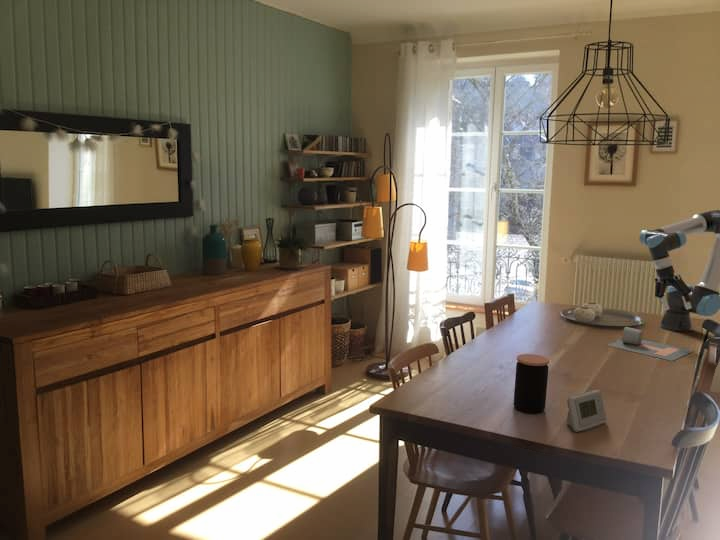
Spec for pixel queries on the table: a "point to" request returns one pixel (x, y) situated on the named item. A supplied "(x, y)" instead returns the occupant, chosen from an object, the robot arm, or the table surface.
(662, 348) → the t mat
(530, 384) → the coffee jar
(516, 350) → the table surface
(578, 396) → the digital clock
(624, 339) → the ceramic mug
